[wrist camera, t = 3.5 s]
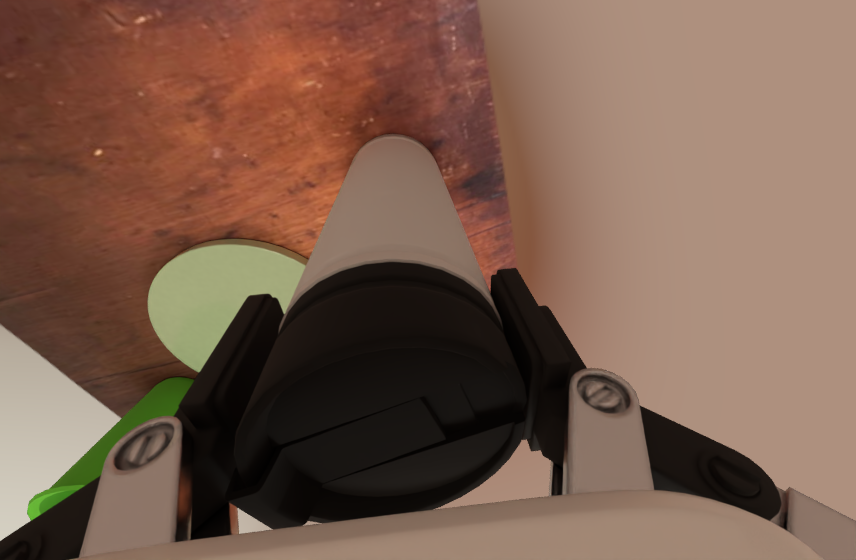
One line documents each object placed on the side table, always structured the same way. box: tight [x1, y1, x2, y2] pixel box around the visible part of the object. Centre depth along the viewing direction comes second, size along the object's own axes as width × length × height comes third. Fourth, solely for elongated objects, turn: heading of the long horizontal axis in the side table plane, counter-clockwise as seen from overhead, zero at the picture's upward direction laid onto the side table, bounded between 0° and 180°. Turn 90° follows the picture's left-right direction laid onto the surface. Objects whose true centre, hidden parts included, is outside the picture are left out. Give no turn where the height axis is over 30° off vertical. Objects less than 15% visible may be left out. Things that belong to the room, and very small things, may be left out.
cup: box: [27, 377, 194, 521], centre depth 28 cm, size 9×9×11 cm
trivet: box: [148, 239, 308, 372], centre depth 29 cm, size 16×16×1 cm
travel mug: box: [225, 134, 527, 530], centre depth 15 cm, size 6×7×20 cm
